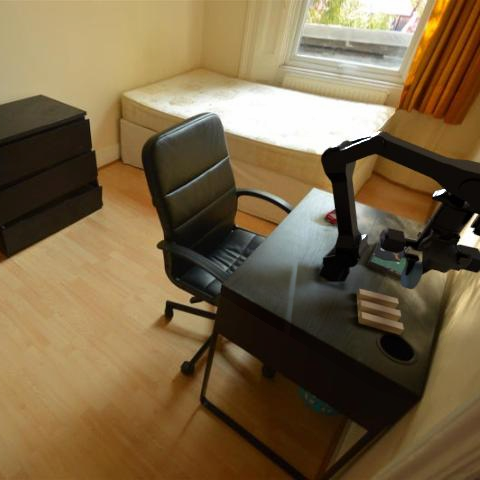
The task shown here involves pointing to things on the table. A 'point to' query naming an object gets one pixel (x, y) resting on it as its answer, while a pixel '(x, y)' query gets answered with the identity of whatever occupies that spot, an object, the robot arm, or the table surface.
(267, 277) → the table surface
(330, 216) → the race car
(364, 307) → the rack
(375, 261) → the disk drive
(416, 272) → the blue disc
